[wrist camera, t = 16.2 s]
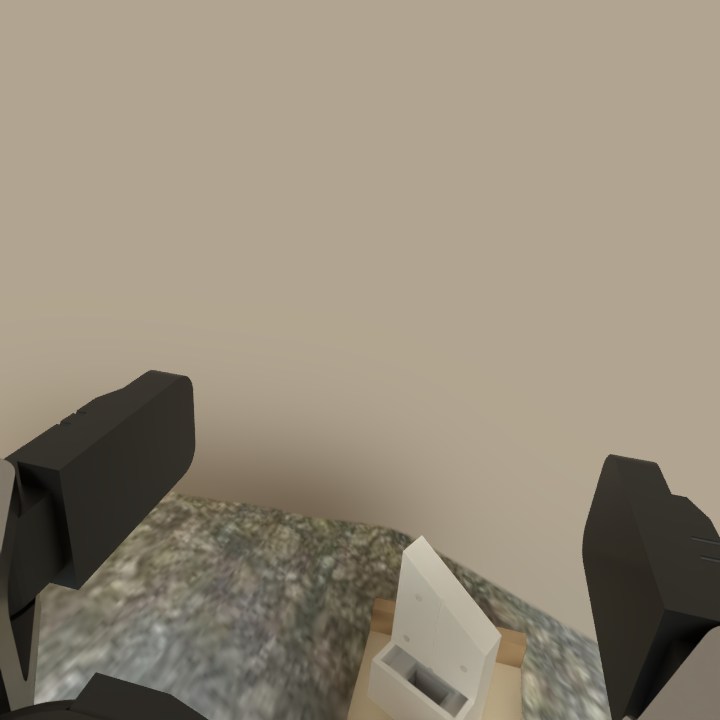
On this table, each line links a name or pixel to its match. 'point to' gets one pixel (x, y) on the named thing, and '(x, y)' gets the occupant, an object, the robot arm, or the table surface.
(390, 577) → the table surface
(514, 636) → the wooden step block
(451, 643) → the white angled block
